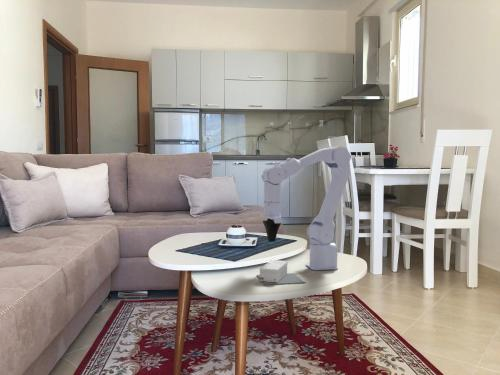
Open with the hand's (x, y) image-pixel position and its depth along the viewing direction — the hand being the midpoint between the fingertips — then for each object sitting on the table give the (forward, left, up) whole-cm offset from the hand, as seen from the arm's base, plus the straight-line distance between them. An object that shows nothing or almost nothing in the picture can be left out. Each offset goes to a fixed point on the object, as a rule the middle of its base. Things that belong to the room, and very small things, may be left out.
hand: (271, 241), depth 144 cm
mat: (0, +10, -10) cm, 15 cm away
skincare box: (-2, +3, -8) cm, 9 cm away
